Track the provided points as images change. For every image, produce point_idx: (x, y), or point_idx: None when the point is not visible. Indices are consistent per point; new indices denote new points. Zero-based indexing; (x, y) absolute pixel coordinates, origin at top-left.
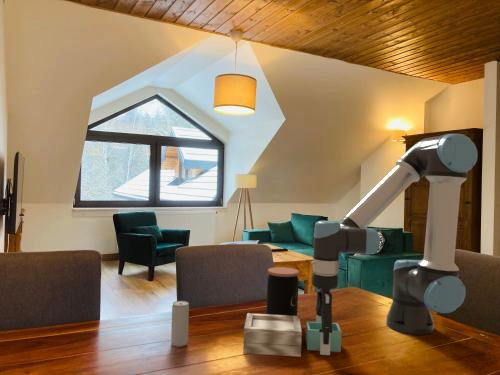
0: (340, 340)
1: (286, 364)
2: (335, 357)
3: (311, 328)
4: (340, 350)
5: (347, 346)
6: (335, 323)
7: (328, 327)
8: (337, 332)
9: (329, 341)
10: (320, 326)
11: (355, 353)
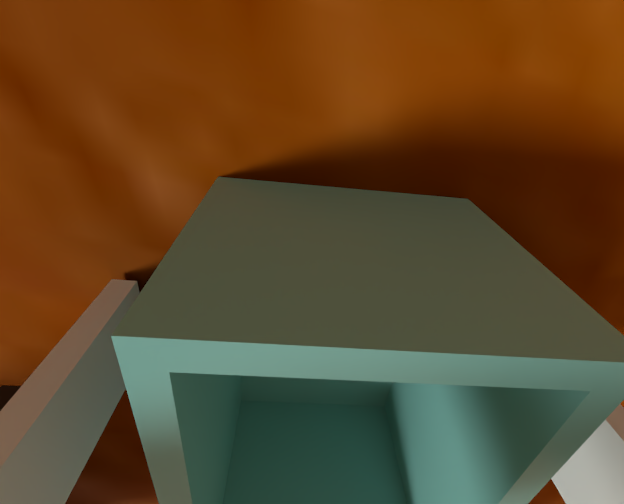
0: (532, 267)
1: (550, 485)
2: (565, 269)
3: (221, 490)
4: (473, 206)
5: (333, 75)
6: (148, 376)
7: (203, 394)
8: (593, 396)
9: (620, 420)
10: (210, 470)
11: (552, 27)
